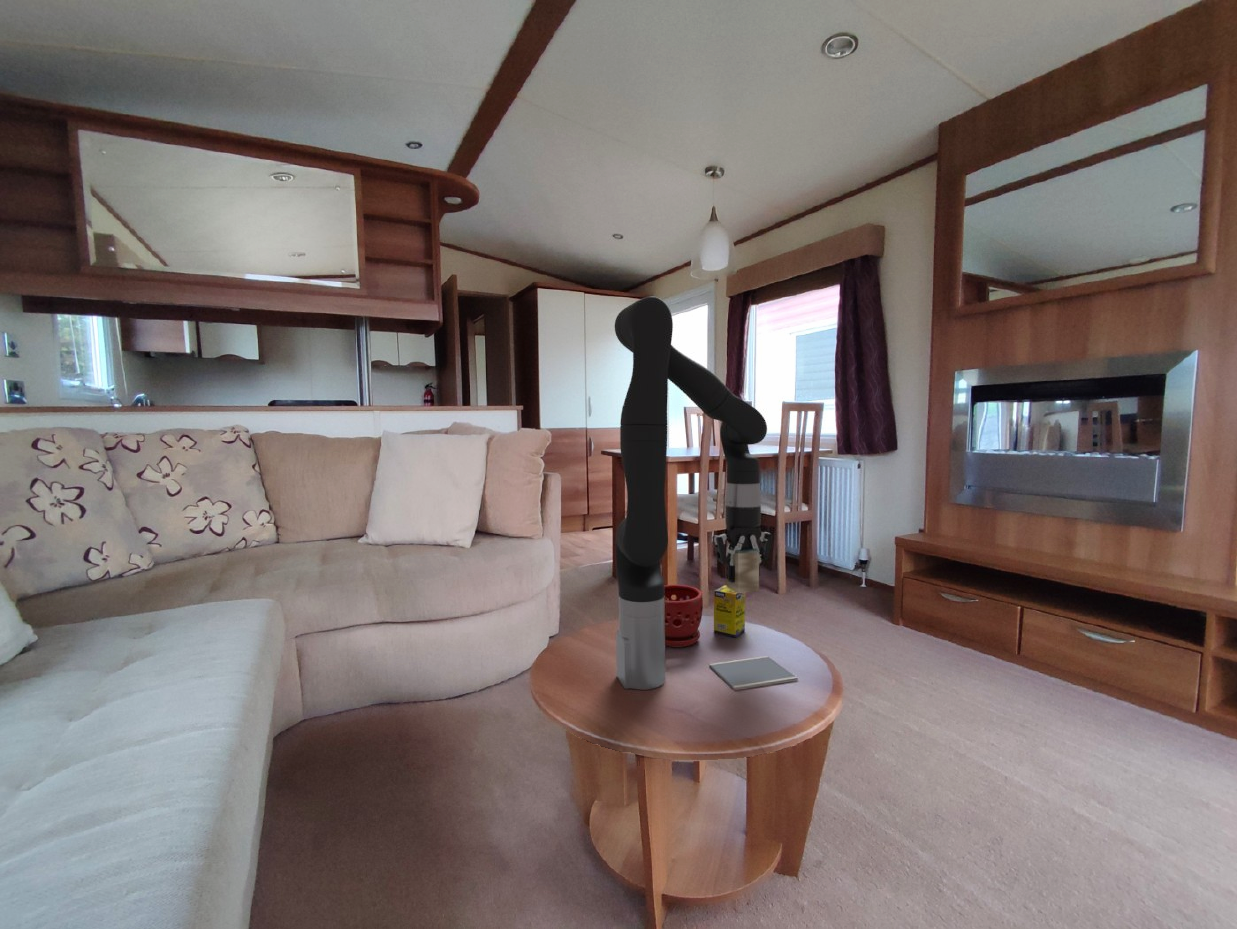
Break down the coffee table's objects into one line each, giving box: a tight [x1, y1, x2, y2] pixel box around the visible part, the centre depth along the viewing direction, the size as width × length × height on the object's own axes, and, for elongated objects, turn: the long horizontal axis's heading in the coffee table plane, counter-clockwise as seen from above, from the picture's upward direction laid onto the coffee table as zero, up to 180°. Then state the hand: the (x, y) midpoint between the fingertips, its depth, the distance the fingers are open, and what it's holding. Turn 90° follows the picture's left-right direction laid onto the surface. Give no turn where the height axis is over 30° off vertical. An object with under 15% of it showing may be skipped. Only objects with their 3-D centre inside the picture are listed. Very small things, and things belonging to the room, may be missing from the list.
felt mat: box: [708, 655, 799, 691], centre depth 106 cm, size 14×11×1 cm
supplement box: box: [713, 584, 746, 638], centre depth 129 cm, size 6×6×11 cm
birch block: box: [726, 548, 760, 594], centre depth 113 cm, size 5×5×9 cm
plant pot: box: [664, 584, 704, 648], centre depth 124 cm, size 13×13×12 cm
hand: (742, 580), depth 113 cm, fingers closed on birch block, 5 cm apart
